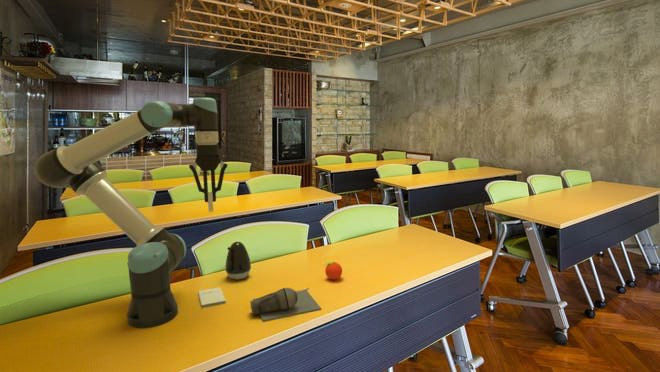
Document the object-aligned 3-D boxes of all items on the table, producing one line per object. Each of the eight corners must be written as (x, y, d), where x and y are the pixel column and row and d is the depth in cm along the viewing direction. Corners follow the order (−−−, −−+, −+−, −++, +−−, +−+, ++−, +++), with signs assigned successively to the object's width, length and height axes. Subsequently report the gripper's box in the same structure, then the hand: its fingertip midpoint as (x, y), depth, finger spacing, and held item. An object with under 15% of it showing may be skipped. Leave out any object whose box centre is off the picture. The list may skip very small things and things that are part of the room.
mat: (262, 321, 119) (262, 320, 119) (253, 300, 134) (253, 299, 133) (321, 309, 127) (321, 308, 126) (305, 290, 141) (305, 289, 141)
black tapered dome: (220, 279, 152) (218, 243, 149) (237, 270, 161) (236, 236, 158) (239, 284, 147) (237, 247, 145) (256, 275, 156) (254, 240, 154)
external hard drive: (201, 309, 128) (198, 294, 140) (226, 304, 132) (220, 290, 143) (201, 305, 128) (198, 290, 139) (225, 300, 131) (220, 286, 143)
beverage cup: (253, 319, 119) (313, 302, 123) (248, 296, 121) (308, 280, 125) (254, 319, 125) (311, 303, 130) (249, 297, 127) (306, 282, 132)
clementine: (322, 282, 148) (322, 265, 147) (323, 275, 155) (322, 259, 154) (342, 282, 148) (342, 265, 147) (342, 275, 155) (342, 259, 154)
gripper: (187, 144, 122) (191, 214, 126) (227, 144, 127) (230, 211, 131) (187, 143, 129) (191, 210, 133) (225, 143, 134) (228, 207, 138)
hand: (210, 210), depth 132 cm, fingers closed
